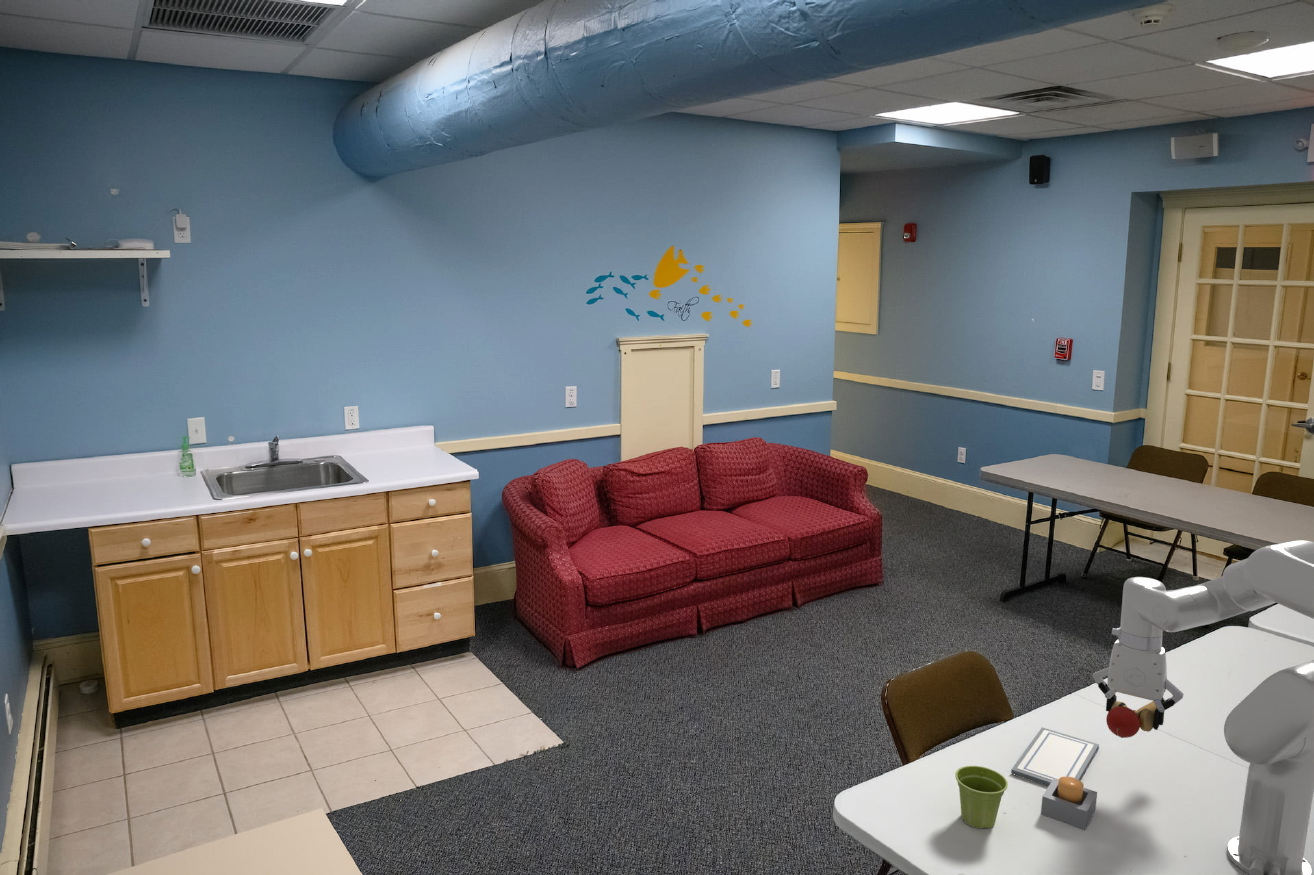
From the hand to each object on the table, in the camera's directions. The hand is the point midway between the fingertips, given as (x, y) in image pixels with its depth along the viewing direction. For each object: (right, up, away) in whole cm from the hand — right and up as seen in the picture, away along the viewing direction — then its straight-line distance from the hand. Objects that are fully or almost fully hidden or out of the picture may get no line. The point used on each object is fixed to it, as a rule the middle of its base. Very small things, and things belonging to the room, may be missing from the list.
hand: (1133, 720), depth 184 cm
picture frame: (-12, -12, +10) cm, 19 cm away
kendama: (+1, -2, 0) cm, 2 cm away
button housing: (-17, -15, -9) cm, 25 cm away
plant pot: (-36, -16, -11) cm, 40 cm away
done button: (-17, -12, -9) cm, 23 cm away
